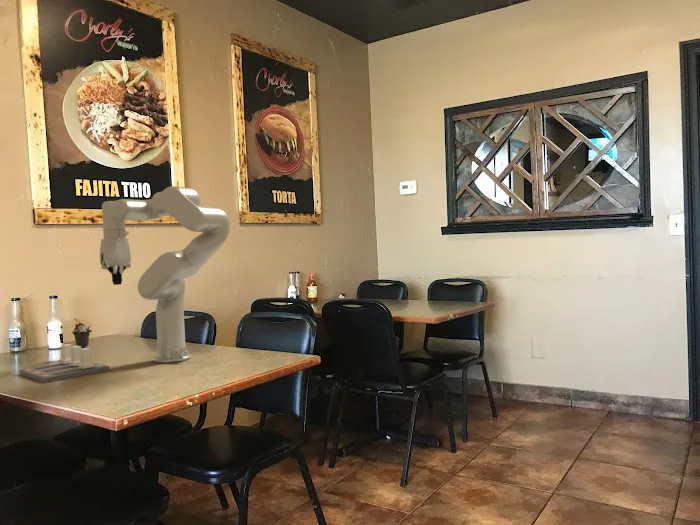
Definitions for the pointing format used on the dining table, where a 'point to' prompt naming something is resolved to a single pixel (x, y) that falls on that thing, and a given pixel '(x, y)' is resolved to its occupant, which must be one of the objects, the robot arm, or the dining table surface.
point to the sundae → (81, 334)
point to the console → (60, 371)
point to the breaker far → (65, 353)
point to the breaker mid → (75, 355)
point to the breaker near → (85, 358)
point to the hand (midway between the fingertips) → (117, 284)
